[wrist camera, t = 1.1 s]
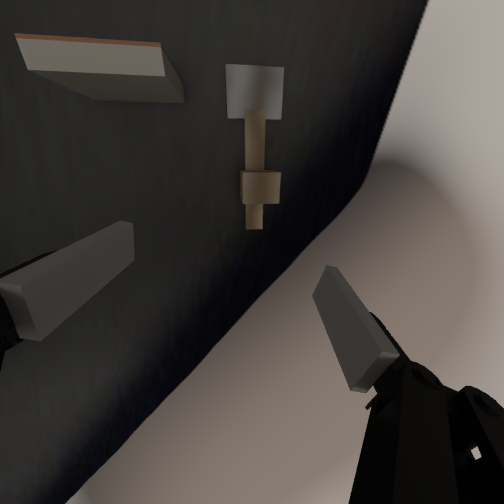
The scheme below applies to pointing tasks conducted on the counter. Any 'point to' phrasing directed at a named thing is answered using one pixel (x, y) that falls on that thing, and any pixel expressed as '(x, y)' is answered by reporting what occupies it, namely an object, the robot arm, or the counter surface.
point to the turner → (255, 132)
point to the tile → (104, 67)
